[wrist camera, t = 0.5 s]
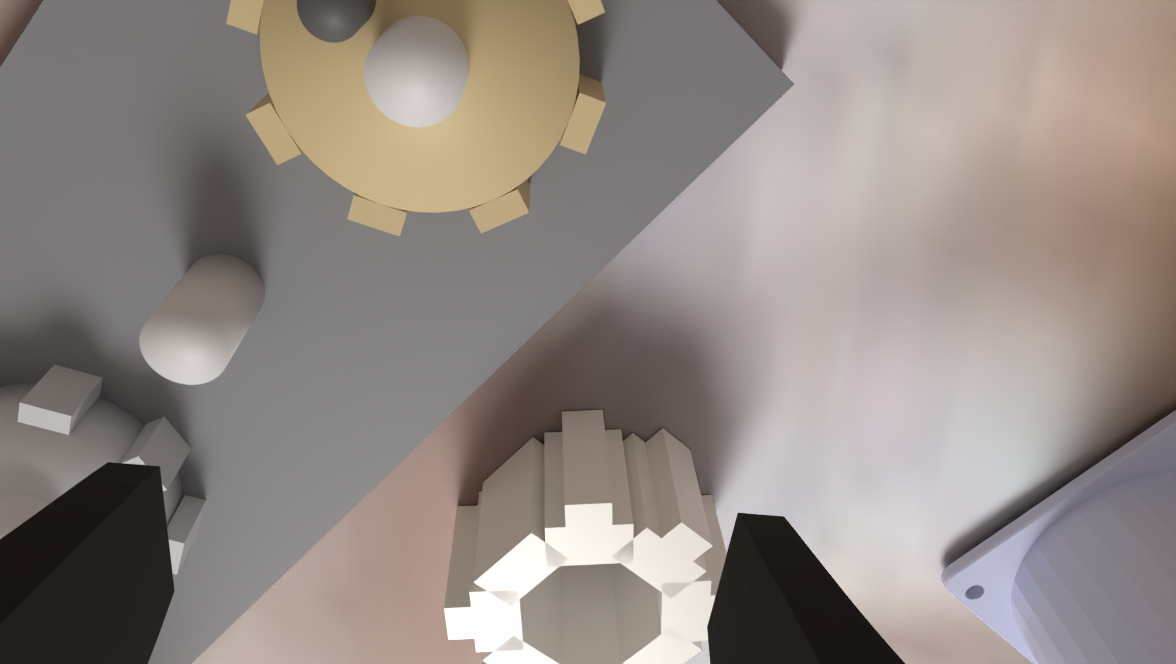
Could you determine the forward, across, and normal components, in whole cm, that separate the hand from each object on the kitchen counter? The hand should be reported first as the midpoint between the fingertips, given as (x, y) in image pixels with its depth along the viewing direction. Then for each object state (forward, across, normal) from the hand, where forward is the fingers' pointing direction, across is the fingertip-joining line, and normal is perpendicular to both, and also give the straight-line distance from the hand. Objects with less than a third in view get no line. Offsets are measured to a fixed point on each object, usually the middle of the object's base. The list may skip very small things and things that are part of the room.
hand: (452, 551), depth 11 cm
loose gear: (+10, -3, +7) cm, 12 cm away
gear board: (+10, +6, +1) cm, 11 cm away
